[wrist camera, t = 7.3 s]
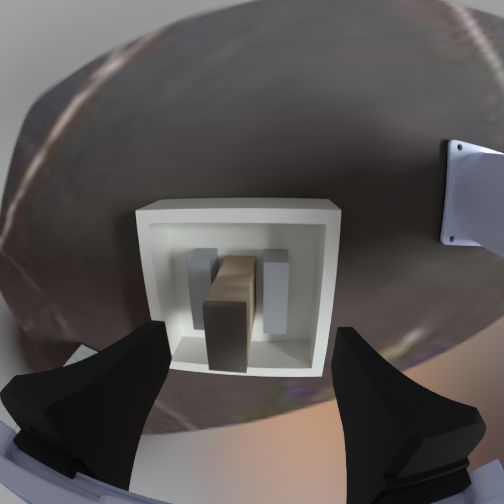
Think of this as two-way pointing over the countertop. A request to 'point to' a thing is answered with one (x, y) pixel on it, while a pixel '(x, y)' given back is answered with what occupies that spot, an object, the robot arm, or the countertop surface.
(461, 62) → the countertop surface
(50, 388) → the robot arm
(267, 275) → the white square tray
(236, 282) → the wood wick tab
